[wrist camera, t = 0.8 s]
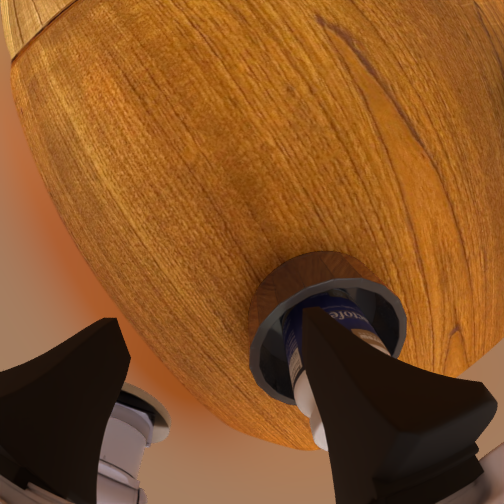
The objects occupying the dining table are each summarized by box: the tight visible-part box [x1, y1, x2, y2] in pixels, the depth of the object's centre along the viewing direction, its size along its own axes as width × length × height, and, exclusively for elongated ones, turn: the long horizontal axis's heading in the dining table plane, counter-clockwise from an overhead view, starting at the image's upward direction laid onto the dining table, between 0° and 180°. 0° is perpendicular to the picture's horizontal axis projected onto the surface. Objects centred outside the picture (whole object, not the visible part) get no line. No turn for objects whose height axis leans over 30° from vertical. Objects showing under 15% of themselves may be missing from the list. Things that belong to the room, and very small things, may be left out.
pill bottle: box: [282, 289, 391, 451], centre depth 15 cm, size 6×6×10 cm
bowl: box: [248, 251, 407, 406], centre depth 18 cm, size 10×10×4 cm
